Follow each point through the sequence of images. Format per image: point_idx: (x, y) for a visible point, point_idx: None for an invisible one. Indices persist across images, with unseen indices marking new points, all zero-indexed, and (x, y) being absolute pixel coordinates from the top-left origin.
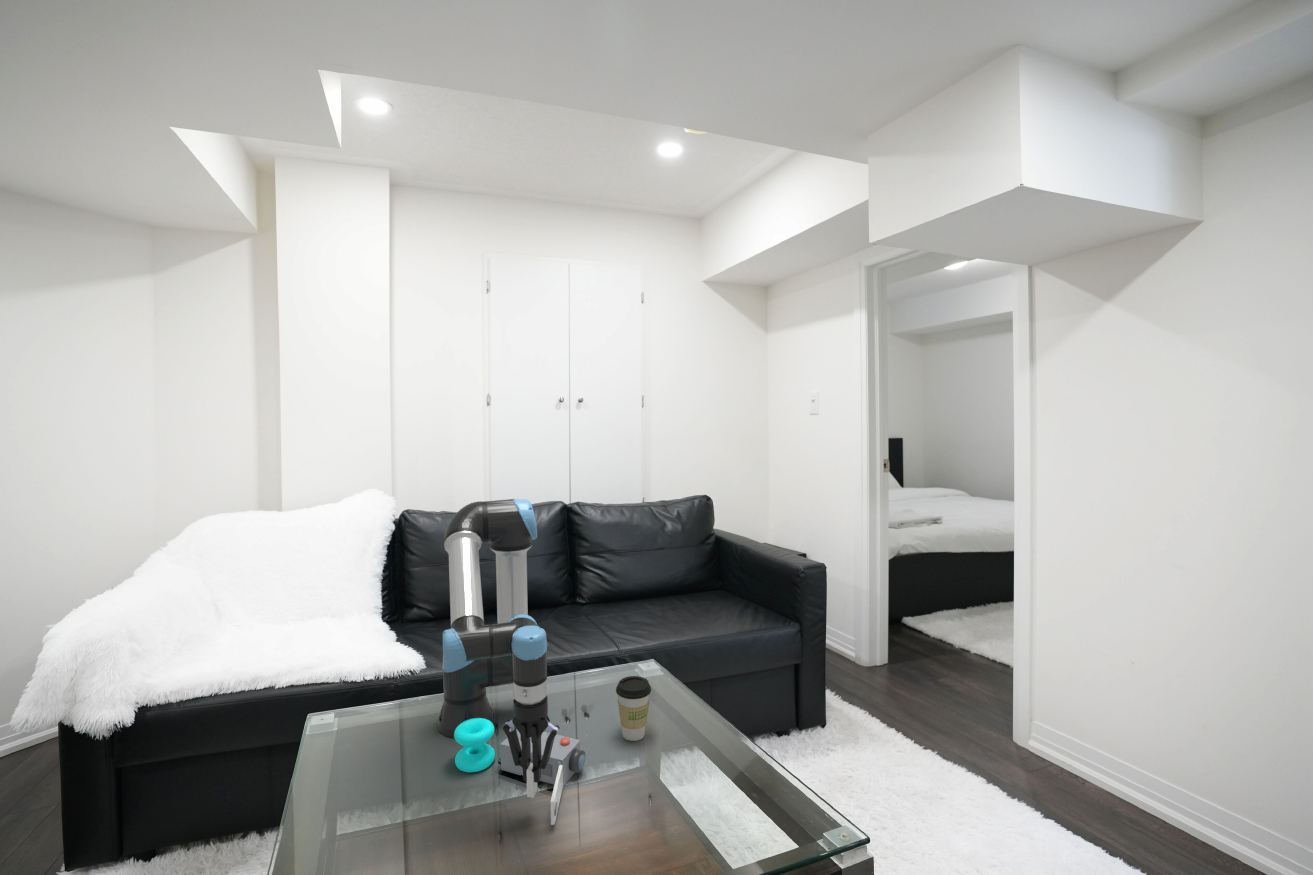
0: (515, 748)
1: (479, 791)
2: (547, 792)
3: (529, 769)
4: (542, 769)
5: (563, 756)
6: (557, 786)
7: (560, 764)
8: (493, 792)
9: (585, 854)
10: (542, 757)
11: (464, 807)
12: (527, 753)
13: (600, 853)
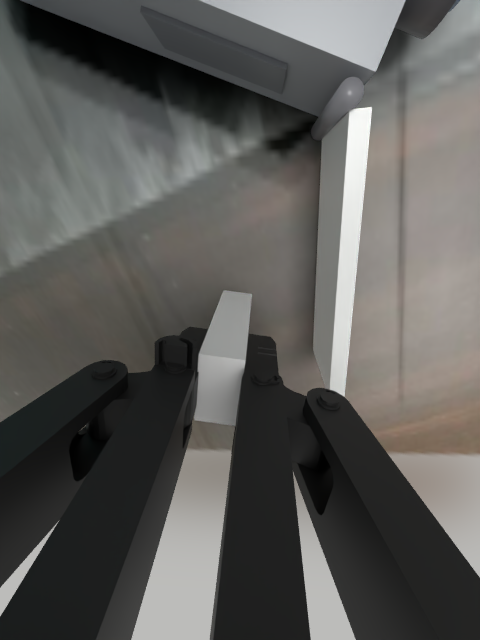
0: (11, 570)
1: (11, 177)
2: (270, 165)
3: (209, 409)
4: (229, 63)
5: (382, 10)
6: (352, 310)
7: (356, 103)
8: (64, 180)
9: (414, 426)
10: (320, 540)
11: (14, 265)
12: (163, 516)
13: (456, 424)
